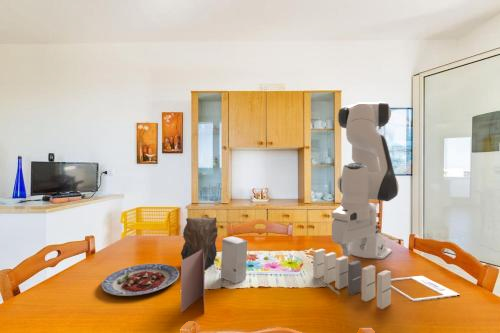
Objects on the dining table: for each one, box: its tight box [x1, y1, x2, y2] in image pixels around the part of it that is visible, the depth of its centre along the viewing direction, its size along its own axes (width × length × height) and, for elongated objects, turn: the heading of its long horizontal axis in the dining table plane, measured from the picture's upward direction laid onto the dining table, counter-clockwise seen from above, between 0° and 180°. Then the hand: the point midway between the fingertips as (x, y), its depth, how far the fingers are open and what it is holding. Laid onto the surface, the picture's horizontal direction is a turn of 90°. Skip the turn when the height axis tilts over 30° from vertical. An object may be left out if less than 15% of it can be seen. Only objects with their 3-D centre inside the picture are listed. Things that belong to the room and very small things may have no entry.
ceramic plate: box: [101, 263, 180, 297], centre depth 94 cm, size 26×26×3 cm
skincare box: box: [220, 236, 248, 284], centre depth 98 cm, size 8×6×15 cm
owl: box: [180, 216, 218, 271], centre depth 111 cm, size 13×13×20 cm
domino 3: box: [334, 255, 349, 290], centre depth 92 cm, size 2×5×10 cm, turn 125°
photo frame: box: [391, 275, 460, 303], centre depth 91 cm, size 15×1×18 cm
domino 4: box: [347, 260, 362, 296], centre depth 88 cm, size 2×5×10 cm, turn 125°
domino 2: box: [323, 251, 337, 284], centre depth 96 cm, size 2×5×10 cm, turn 125°
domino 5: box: [361, 264, 376, 303], centre depth 84 cm, size 2×5×10 cm, turn 125°
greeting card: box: [180, 249, 206, 313], centre depth 79 cm, size 11×7×15 cm, turn 157°
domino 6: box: [376, 269, 392, 310], centre depth 80 cm, size 2×5×10 cm, turn 125°
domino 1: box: [312, 248, 326, 279], centre depth 100 cm, size 2×5×10 cm, turn 125°
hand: (355, 252), depth 88 cm, fingers open, 8 cm apart
